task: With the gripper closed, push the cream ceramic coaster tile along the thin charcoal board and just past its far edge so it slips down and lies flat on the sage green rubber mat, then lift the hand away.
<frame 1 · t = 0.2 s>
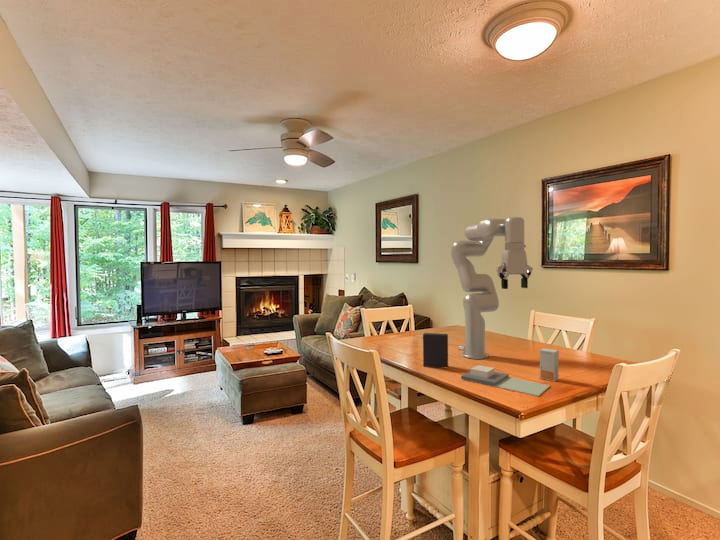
hand: (514, 288, 161), 37 cm above the table, tool pointing down, fingers open, 9 cm apart
mat: (522, 386, 148), on the table
black rectangular block: (435, 366, 177), on the table
board: (485, 378, 158), on the table
skincare box: (549, 379, 157), on the table
coaster tile: (482, 374, 159), point 2 cm above the table, touching board
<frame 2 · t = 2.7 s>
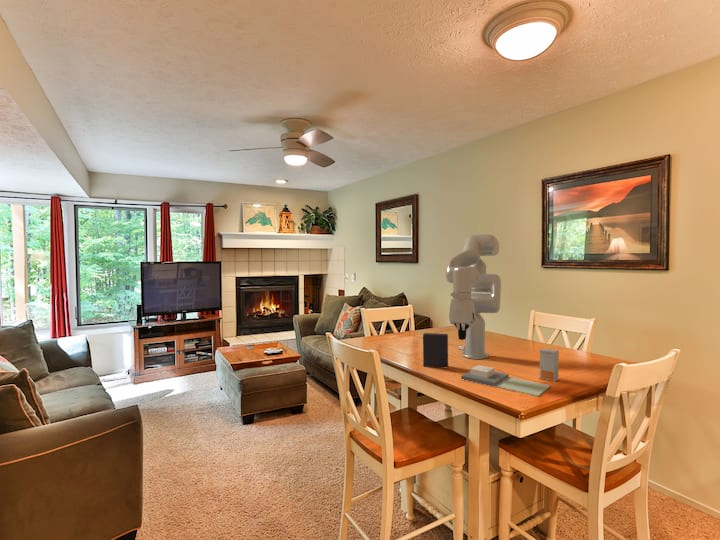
hand: (462, 339, 164), 15 cm above the table, tool pointing down, fingers closed
nothing on the table moved.
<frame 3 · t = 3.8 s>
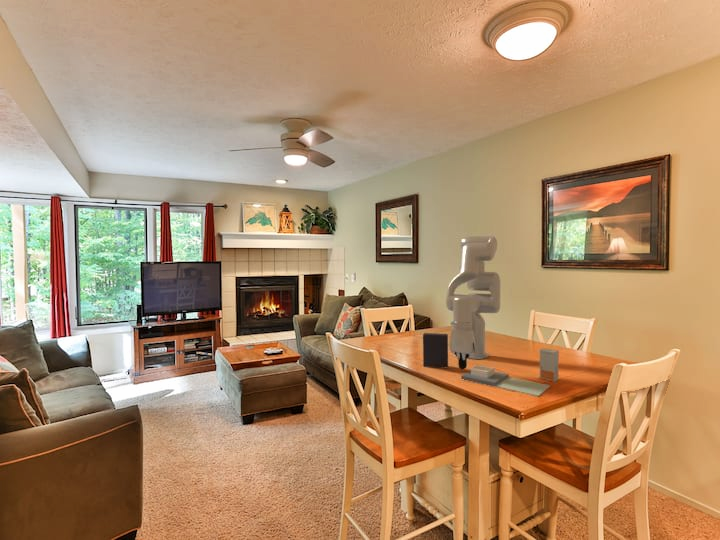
hand: (462, 368, 165), 3 cm above the table, tool pointing down, fingers closed
nothing on the table moved.
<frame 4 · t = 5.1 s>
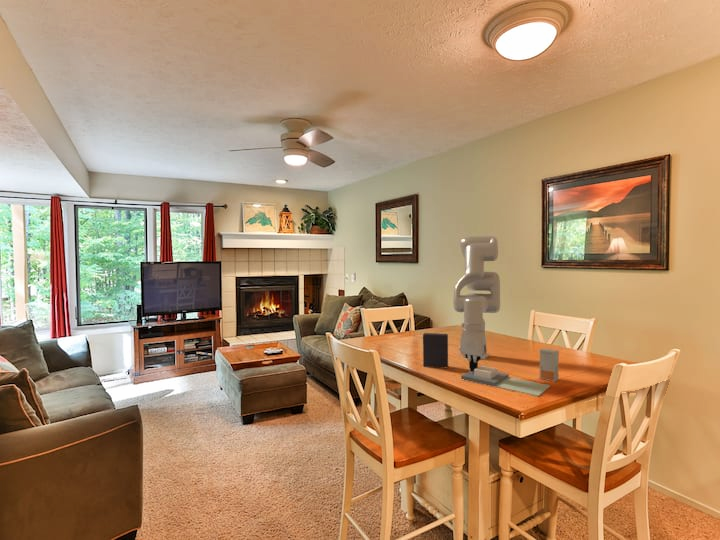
hand: (473, 370, 161), 2 cm above the table, tool pointing down, fingers closed
coaster tile: (485, 375, 158), point 2 cm above the table
everything else where it was.
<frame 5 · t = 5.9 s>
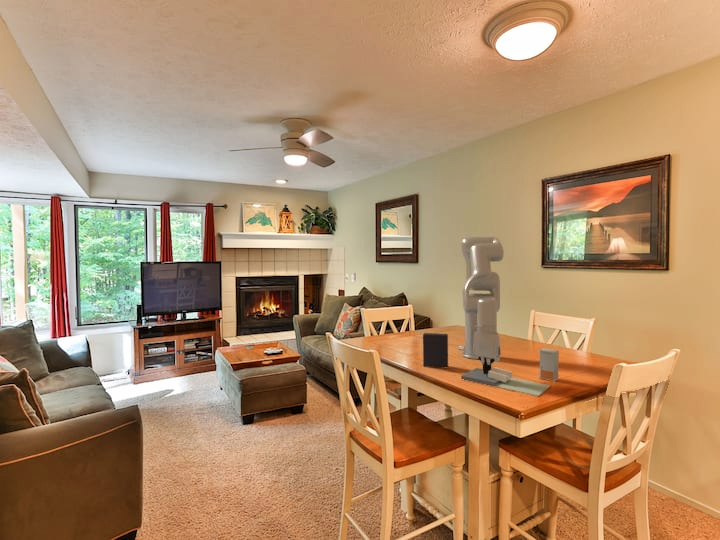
hand: (487, 373, 157), 2 cm above the table, tool pointing down, fingers closed
coaster tile: (499, 377, 154), point 2 cm above the table, tilted 6°, touching gripper
everything else where it was.
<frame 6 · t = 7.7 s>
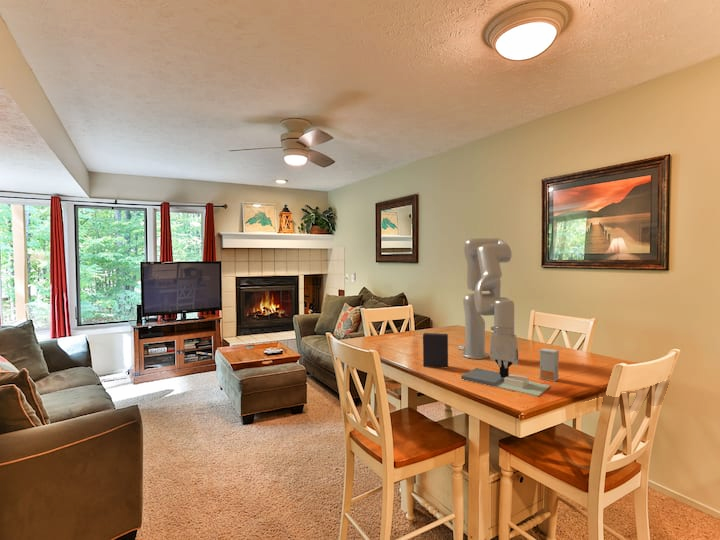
hand: (504, 376, 153), 2 cm above the table, tool pointing down, fingers closed
coaster tile: (516, 384, 150), resting on mat, touching gripper
everything else where it was.
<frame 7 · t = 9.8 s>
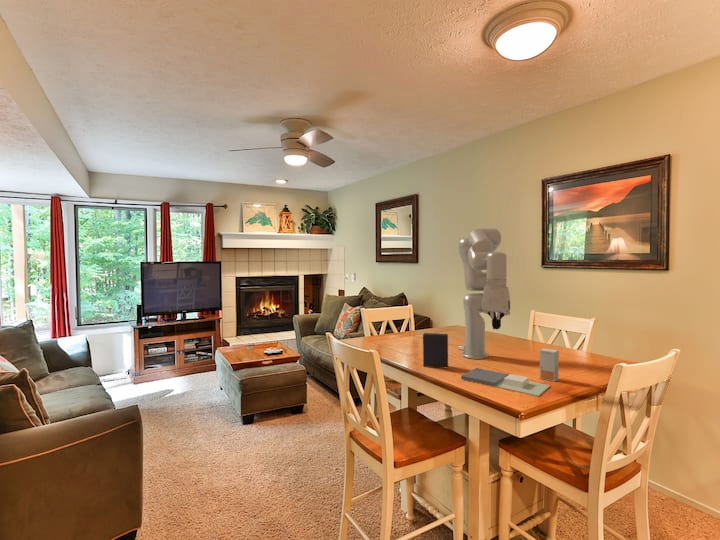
hand: (496, 328, 155), 21 cm above the table, tool pointing down, fingers closed
coaster tile: (516, 384, 150), resting on mat
everything else where it was.
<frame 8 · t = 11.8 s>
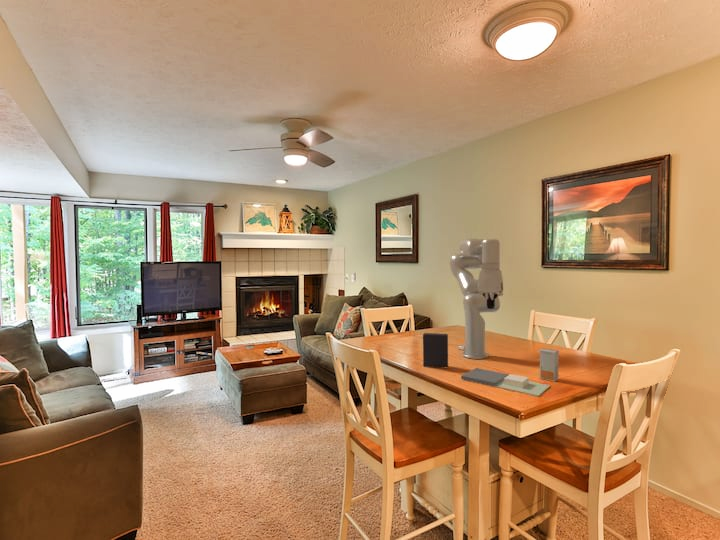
hand: (490, 308, 171), 27 cm above the table, tool pointing down, fingers closed
nothing on the table moved.
at the end: coaster tile inside the target area (2.4 cm from its centre), resting on mat; coaster tile tilted 0° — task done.
